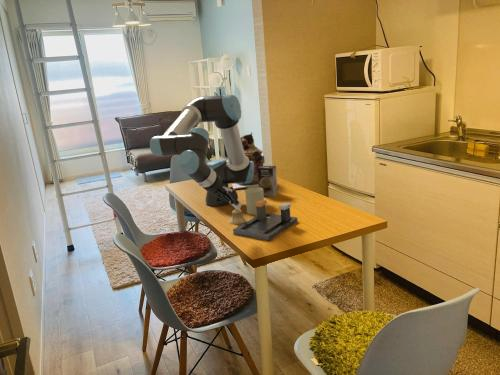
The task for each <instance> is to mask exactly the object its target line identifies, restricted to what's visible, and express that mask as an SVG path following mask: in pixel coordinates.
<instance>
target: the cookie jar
mask: <svg viewBox="0 0 500 375" xmlns="http://www.w3.org/2000/svg"><path fill="white" fill-rule="evenodd" d="M240 137H241V141H242V145H243V149H244V153H245V156H247V157H248V158H249V161H253V162H254V177H253V181H252V182H251V183H236V184H232V186H231V187H232V188H233V189H237V190H238V189H244V188H251V187H259V182H258V167H260V166H265V165H264V164H265V161H266V160H265V156H264V155H262V154H263V150H262V148H258V147H257V146H255V139H254V136H253V132H252V131H251V132H250V133H249V134H245V135H242V136H240Z"/></svg>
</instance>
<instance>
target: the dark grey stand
mask: <svg viewBox="0 0 500 375" xmlns="http://www.w3.org/2000/svg"><path fill="white" fill-rule="evenodd" d="M291 204H292V203H290V202H283V203H281V204H279V205H278V209H279V210H280V214H278V213H272V212H266V218H265V219H263V220H262V221H258V220H257V215H256V216H254V217H252V218H251V219H249V220H247V221H246V222H245V223H243V224H239V225H238V226H237V227H235V228H233V229H232V231H233V234H234V235H238V236H242V237H248V238H252V239H257V240H263V241H266V242H270V241H271V240H272V239H274V238H276V237H277V236H279V235H280V234H281V233H283V232H284V231H286V230H287V229H289V228H291V226H293V225H295V224H296V223H297V222H298V217H296V216H291V209H290V208H291V207H292V205H291Z"/></svg>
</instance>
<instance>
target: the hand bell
mask: <svg viewBox="0 0 500 375" xmlns="http://www.w3.org/2000/svg"><path fill="white" fill-rule="evenodd" d="M233 190H234V192H235V193H236V194H237V196H238V197H239V195H238V191H237V190H236V189H234V188H233ZM237 200H238V201H239V198H238V199H237ZM247 221H248V220H247V219H246V217H245V216H244V215H243V211H242V210H241V209H240V210H238V209H236V208H235V207H234V209H233V210H232V212H231V218H230V219H229V221H228V223H229V224H230V225H238V226H239V225H242V224H244V223H245V222H247Z"/></svg>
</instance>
